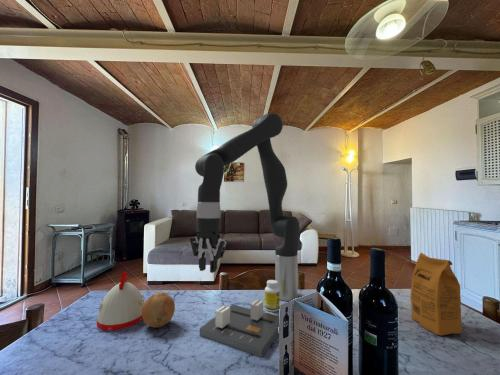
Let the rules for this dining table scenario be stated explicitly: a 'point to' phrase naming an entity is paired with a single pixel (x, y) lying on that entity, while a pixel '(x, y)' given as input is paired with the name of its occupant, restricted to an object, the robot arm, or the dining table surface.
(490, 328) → the dining table surface
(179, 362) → the dining table surface
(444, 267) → the coffee package
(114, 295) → the kitchen timer
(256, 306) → the fader
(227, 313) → the fader
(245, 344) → the console
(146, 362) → the dining table surface
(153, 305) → the onion
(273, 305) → the supplement bottle
